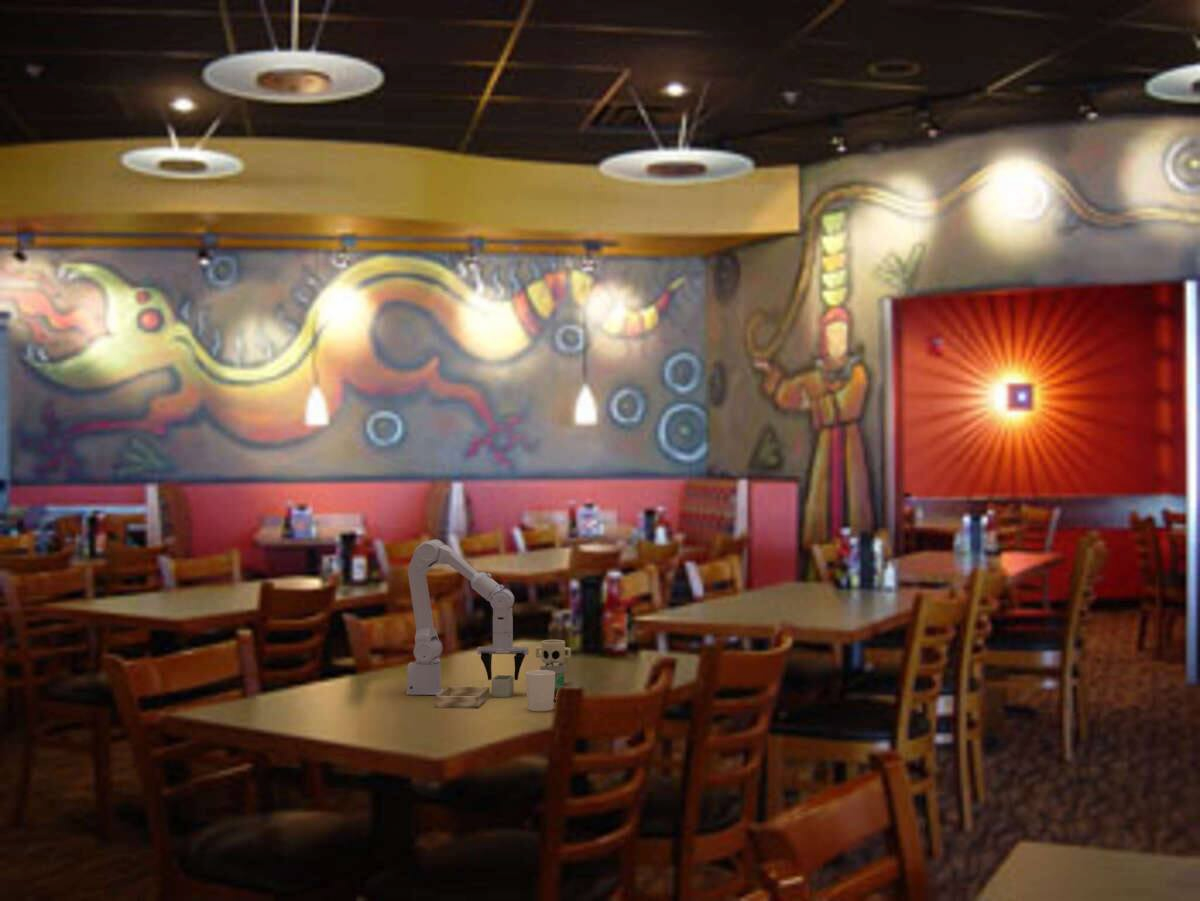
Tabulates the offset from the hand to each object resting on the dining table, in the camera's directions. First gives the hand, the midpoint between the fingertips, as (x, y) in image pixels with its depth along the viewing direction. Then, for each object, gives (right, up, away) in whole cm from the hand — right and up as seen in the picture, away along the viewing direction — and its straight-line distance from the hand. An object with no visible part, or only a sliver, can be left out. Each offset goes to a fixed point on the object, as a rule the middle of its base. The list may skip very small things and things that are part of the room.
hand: (503, 679), depth 400 cm
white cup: (+12, -5, -22) cm, 26 cm away
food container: (+15, -5, -7) cm, 17 cm away
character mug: (+14, -5, +18) cm, 23 cm away
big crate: (-10, -4, -12) cm, 16 cm away
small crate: (0, -4, 0) cm, 4 cm away
